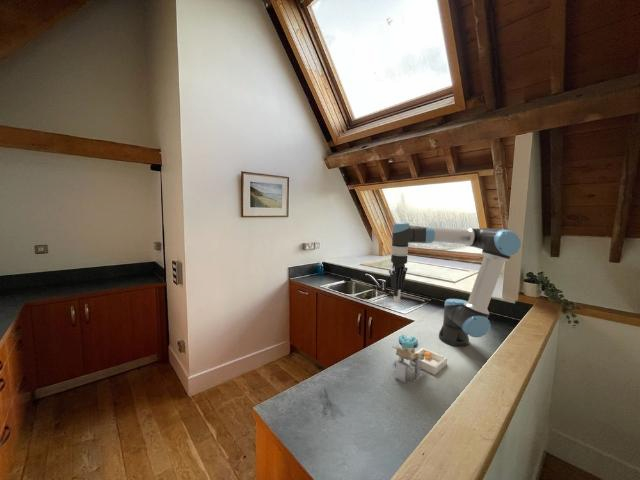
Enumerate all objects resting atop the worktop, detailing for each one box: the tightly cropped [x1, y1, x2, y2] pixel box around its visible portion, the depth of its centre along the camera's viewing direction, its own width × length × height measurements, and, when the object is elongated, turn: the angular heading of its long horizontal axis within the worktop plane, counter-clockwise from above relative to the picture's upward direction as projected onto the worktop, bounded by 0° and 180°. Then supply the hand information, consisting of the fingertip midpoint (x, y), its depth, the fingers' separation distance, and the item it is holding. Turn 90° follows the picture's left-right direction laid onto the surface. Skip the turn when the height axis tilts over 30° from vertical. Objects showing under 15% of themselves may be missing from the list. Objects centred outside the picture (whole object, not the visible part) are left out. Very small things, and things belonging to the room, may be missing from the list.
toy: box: [398, 334, 419, 349], centre depth 141 cm, size 10×5×15 cm
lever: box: [391, 345, 425, 361], centre depth 118 cm, size 15×14×3 cm
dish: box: [409, 347, 448, 376], centre depth 123 cm, size 12×12×4 cm
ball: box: [424, 352, 431, 359], centre depth 126 cm, size 3×3×3 cm
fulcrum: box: [394, 356, 424, 384], centre depth 114 cm, size 11×10×8 cm
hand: (396, 301), depth 129 cm, fingers closed
